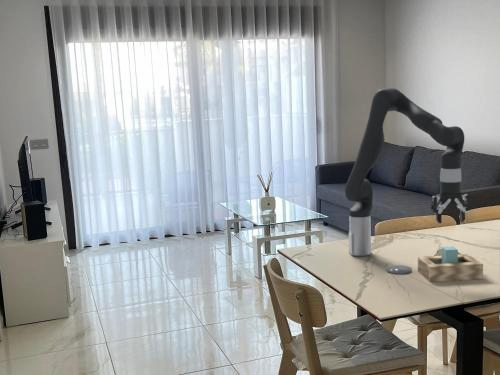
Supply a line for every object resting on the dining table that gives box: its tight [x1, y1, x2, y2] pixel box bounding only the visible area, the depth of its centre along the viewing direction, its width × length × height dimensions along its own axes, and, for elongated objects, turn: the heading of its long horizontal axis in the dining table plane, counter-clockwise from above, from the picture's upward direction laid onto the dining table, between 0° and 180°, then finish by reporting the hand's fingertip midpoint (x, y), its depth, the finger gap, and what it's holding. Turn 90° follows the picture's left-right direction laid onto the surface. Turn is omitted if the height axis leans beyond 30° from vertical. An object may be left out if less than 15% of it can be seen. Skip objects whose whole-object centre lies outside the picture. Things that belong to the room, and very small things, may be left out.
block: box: [441, 246, 459, 264], centre depth 224 cm, size 4×4×8 cm
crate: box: [417, 253, 484, 283], centre depth 225 cm, size 20×14×6 cm
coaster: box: [385, 264, 413, 275], centre depth 233 cm, size 10×10×1 cm
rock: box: [433, 248, 461, 256], centre depth 245 cm, size 11×11×4 cm
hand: (450, 222), depth 223 cm, fingers open, 8 cm apart
